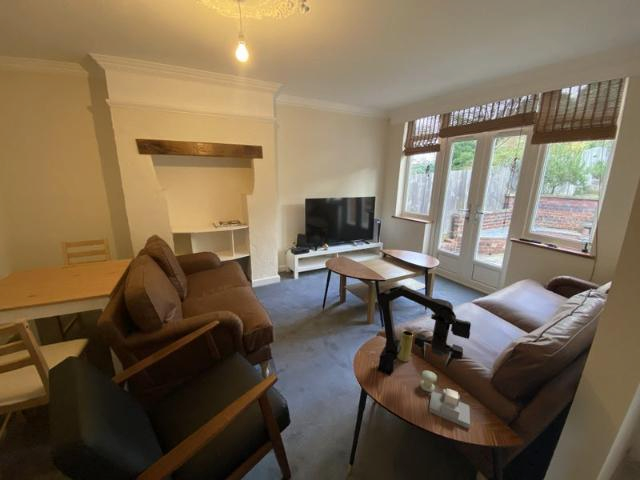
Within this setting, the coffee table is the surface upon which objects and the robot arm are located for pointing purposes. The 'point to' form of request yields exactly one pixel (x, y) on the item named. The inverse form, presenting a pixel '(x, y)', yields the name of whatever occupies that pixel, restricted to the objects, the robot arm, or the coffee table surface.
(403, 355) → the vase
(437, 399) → the notch board
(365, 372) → the coffee table surface
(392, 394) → the coffee table surface
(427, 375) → the spool
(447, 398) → the block
